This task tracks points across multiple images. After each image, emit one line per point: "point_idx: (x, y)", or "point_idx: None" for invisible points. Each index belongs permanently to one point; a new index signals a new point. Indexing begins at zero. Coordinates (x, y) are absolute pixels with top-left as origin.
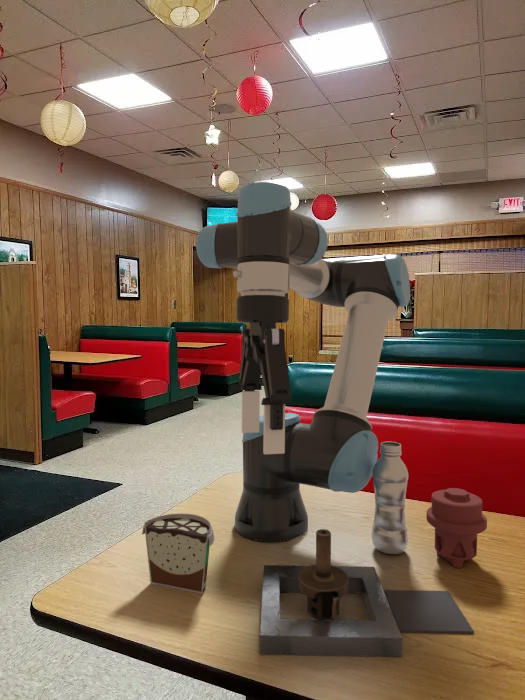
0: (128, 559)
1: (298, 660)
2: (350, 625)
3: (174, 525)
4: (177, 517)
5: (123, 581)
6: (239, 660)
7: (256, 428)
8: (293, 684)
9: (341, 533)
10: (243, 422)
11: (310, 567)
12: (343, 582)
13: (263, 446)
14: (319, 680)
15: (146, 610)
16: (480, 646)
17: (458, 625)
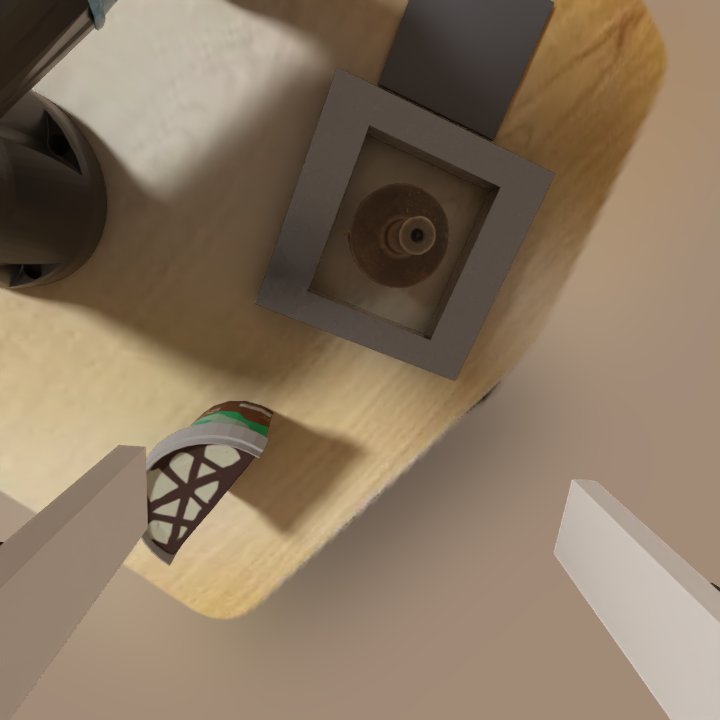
0: None
1: None
2: (491, 238)
3: (178, 503)
4: None
5: None
6: (446, 400)
7: (134, 471)
8: (514, 351)
9: None
10: (118, 563)
11: (358, 246)
12: (434, 209)
13: (569, 573)
14: (523, 317)
15: (292, 494)
16: (580, 24)
17: (529, 18)
